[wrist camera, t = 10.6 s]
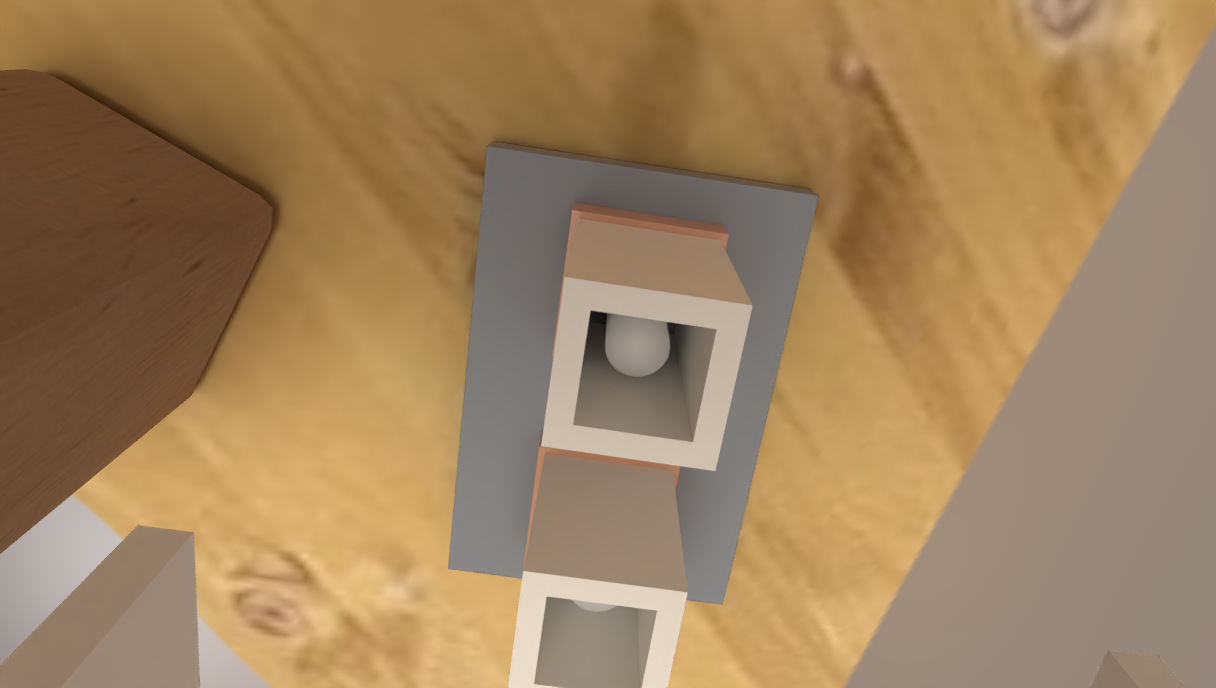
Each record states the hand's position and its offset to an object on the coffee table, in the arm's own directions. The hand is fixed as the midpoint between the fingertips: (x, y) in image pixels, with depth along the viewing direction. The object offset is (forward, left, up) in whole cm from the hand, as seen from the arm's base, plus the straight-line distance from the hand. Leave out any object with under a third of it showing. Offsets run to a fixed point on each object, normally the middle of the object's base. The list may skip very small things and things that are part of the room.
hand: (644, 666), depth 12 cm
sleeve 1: (0, 0, -20) cm, 20 cm away
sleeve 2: (+9, 0, -20) cm, 22 cm away
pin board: (+5, 0, -22) cm, 22 cm away
